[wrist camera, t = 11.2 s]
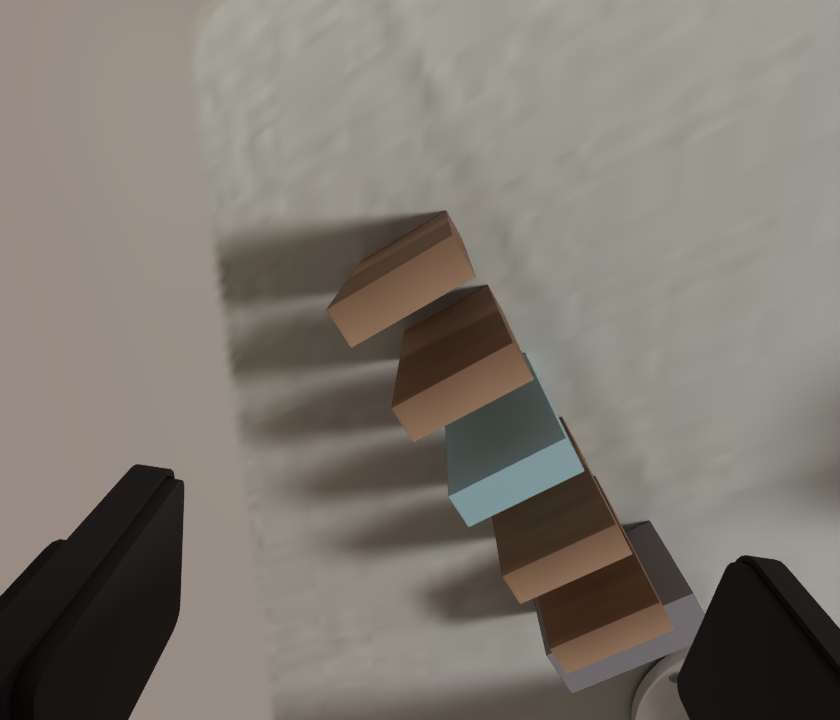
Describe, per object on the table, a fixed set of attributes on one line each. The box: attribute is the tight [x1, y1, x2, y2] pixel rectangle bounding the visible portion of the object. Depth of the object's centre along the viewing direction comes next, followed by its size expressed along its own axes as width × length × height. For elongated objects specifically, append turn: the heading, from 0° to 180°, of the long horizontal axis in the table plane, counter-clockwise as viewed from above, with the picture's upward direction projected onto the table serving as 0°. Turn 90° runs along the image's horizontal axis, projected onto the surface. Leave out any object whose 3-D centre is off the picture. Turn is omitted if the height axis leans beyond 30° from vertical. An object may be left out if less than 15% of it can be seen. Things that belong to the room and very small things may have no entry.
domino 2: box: [391, 285, 534, 442], centre depth 26 cm, size 2×5×10 cm, turn 121°
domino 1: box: [326, 211, 476, 348], centre depth 24 cm, size 2×5×10 cm, turn 120°
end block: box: [533, 521, 705, 693], centre depth 32 cm, size 3×8×6 cm, turn 121°
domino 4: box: [492, 417, 632, 604], centre depth 28 cm, size 2×5×10 cm, turn 121°
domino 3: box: [445, 353, 584, 527], centre depth 27 cm, size 2×5×10 cm, turn 121°
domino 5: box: [538, 476, 675, 674], centre depth 29 cm, size 2×5×10 cm, turn 121°
